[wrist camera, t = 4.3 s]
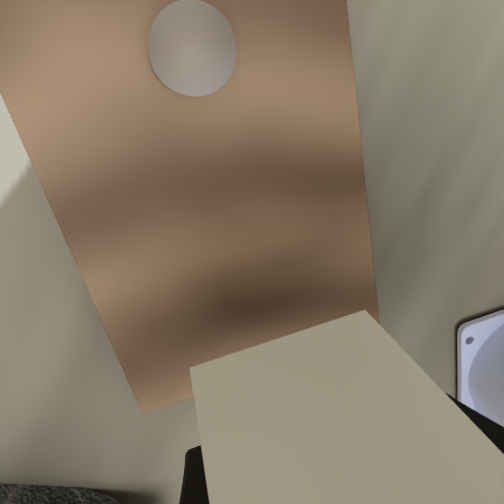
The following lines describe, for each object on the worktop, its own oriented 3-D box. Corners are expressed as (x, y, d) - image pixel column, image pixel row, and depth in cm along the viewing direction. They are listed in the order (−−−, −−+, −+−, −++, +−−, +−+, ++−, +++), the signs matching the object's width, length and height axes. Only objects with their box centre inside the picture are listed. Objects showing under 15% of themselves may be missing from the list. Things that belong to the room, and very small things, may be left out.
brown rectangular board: (368, 321, 22) (415, 371, 18) (143, 396, 20) (141, 468, 16) (319, -108, 14) (382, -178, 10) (-46, -39, 13) (-127, -91, 9)
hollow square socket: (380, 436, 14) (535, 672, 8) (233, 491, 13) (296, 785, 7) (365, 309, 11) (560, 514, 6) (189, 368, 11) (231, 653, 5)
